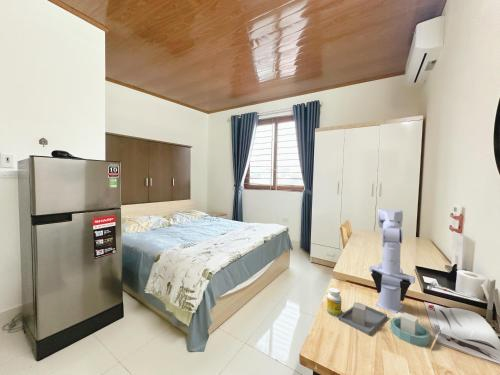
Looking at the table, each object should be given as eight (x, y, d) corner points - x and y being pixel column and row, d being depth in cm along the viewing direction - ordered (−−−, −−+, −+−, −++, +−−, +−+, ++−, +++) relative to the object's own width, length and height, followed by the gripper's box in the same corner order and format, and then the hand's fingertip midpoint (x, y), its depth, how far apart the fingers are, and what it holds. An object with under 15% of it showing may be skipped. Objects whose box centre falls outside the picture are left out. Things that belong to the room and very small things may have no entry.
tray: (358, 305, 92) (358, 302, 92) (386, 318, 84) (386, 314, 84) (338, 320, 82) (338, 316, 82) (369, 336, 73) (369, 332, 73)
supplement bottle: (332, 308, 90) (332, 285, 90) (343, 315, 85) (344, 291, 85) (324, 312, 87) (324, 288, 87) (335, 319, 82) (336, 294, 82)
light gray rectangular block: (354, 317, 83) (354, 302, 83) (365, 321, 81) (366, 305, 81) (352, 322, 80) (352, 306, 80) (364, 326, 78) (364, 310, 78)
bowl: (396, 321, 82) (396, 314, 82) (432, 337, 74) (432, 328, 74) (386, 333, 75) (386, 325, 75) (425, 351, 67) (425, 342, 67)
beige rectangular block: (403, 328, 77) (404, 312, 77) (417, 334, 74) (418, 317, 74) (400, 333, 74) (400, 316, 74) (414, 340, 71) (414, 322, 71)
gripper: (366, 256, 84) (365, 291, 84) (411, 266, 73) (410, 307, 72) (373, 254, 89) (372, 287, 88) (416, 263, 78) (416, 301, 77)
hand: (390, 296), depth 81 cm, fingers open, 7 cm apart
